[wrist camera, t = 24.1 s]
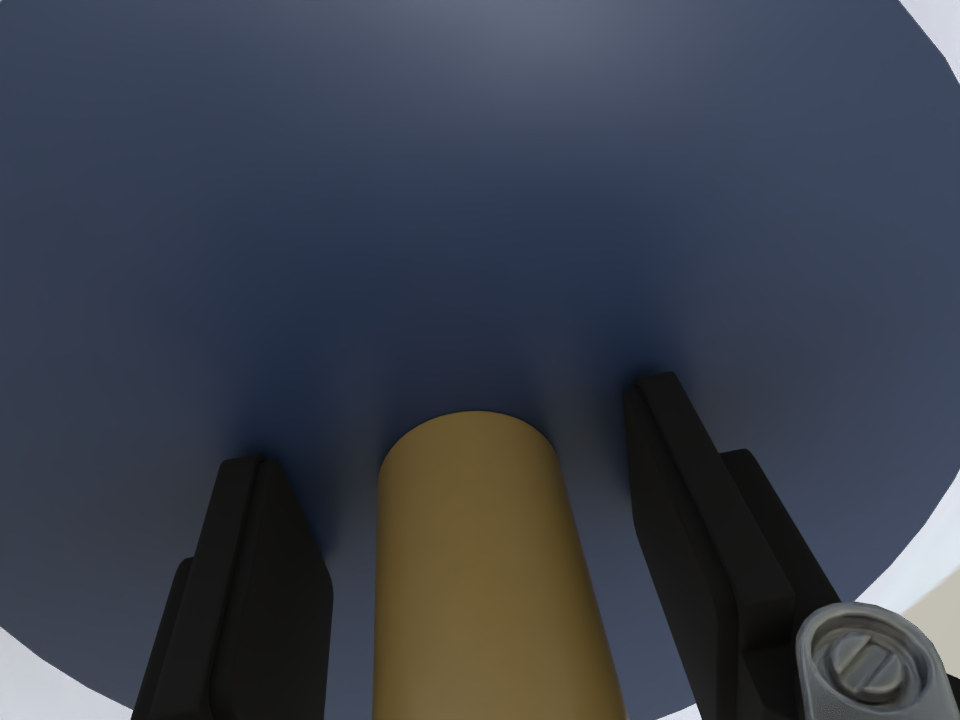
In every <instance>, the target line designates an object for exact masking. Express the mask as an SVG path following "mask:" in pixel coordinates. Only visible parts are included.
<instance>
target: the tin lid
mask: <svg viewBox="0 0 960 720" xmlns="http://www.w3.org/2000/svg"><path fill="white" fill-rule="evenodd" d="M669 371H673V372H674V373H675V374H676V376H677V377H678V379H679V381H680V383H681V385H682V387H683V388H684V390H685V392H686V394H687V396H688V398H689V399H690V401H691V403H692V405H693V407H694V409H695V410H696V412H697V414H698V416H699V418H700V420H701V421H702V423H703V425H704V427H705V429H706V431H707V432H708V434H709V436H710V438H711V440H712V442H713V443H714V445H715V447H716V449H717V451H718V453H723V452H728V451H733V450H738V449H743V448H746V449H747V450H749V451H750V452H751V453H752V455H753V456H754V457H755V459H756V460H757V462H758V463H759V465H760V467H761V468H762V470H763V472H764V473H765V475H766V477H767V478H768V480H769V482H770V483H771V485H772V487H773V488H774V490H775V492H776V493H777V495H778V497H779V498H780V500H781V502H782V503H783V505H784V507H785V508H786V510H787V512H788V513H789V515H790V517H791V518H792V520H793V522H794V523H795V525H796V527H797V528H798V530H799V532H800V533H801V535H802V537H803V538H804V540H805V542H806V543H807V545H808V547H809V548H810V550H811V552H812V553H813V555H814V557H815V558H816V560H817V562H818V563H819V565H820V567H821V568H822V570H823V571H824V573H825V575H826V576H827V578H828V580H829V581H830V583H831V585H832V586H833V588H834V590H835V591H836V593H837V595H838V596H839V598H840V600H841V601H842V602H854V601H855V600H856V599H857V598H858V597H859V596H860V595H861V594H862V593H863V592H864V591H865V590H866V589H867V588H868V587H869V586H870V585H871V584H872V583H873V582H874V581H875V580H876V579H877V578H878V577H879V576H880V575H881V574H882V573H883V572H884V571H885V570H886V569H887V568H889V567H890V565H891V564H892V563H893V562H894V561H895V559H896V558H897V557H898V556H899V555H900V553H901V552H902V551H903V550H904V549H905V547H906V546H907V545H908V544H909V543H910V541H911V540H912V539H913V538H914V537H915V535H916V534H917V533H918V532H919V531H920V529H921V528H922V527H923V526H924V525H925V523H926V522H927V520H928V519H929V517H930V516H931V514H932V513H933V511H934V510H935V508H936V507H937V505H938V503H939V502H940V500H941V499H942V497H943V496H944V494H945V493H946V491H947V490H948V488H949V487H950V485H951V484H952V482H953V481H954V479H955V477H956V475H957V473H958V471H959V469H960V84H959V82H958V81H957V79H956V77H955V75H954V73H953V71H952V70H951V68H950V66H949V64H948V62H947V60H946V58H945V57H944V56H943V54H942V53H941V52H940V51H939V49H938V48H937V47H936V46H935V44H934V43H933V42H932V41H931V40H930V38H929V37H928V36H927V35H926V33H925V32H924V31H923V30H922V28H921V27H920V26H919V25H918V23H917V22H916V21H915V20H914V19H913V17H912V16H911V15H910V14H909V12H908V11H907V10H906V9H905V7H904V6H903V5H902V4H901V2H900V1H899V0H1V1H0V627H2V628H3V629H4V630H5V631H7V632H8V633H9V634H11V635H12V636H13V637H14V638H16V639H17V640H18V641H19V642H21V643H22V644H23V645H25V646H26V647H27V648H28V649H30V650H31V651H32V652H33V653H35V654H36V655H37V656H39V657H40V658H41V659H43V660H44V661H46V662H48V663H49V664H51V665H52V666H54V667H56V668H57V669H59V670H60V671H62V672H64V673H65V674H67V675H68V676H70V677H72V678H73V679H75V680H76V681H78V682H80V683H81V684H83V685H84V686H86V687H88V688H90V689H92V690H94V691H96V692H98V693H100V694H102V695H104V696H106V697H108V698H110V699H112V700H114V701H116V702H118V703H120V704H122V705H124V706H126V707H128V708H130V709H132V710H134V707H135V704H136V700H137V697H138V694H139V691H140V687H141V684H142V681H143V677H144V674H145V671H146V668H147V664H148V661H149V658H150V654H151V651H152V648H153V645H154V641H155V638H156V635H157V632H158V628H159V625H160V622H161V618H162V615H163V612H164V609H165V605H166V602H167V599H168V595H169V592H170V589H171V586H172V582H173V579H174V576H175V573H176V571H177V568H178V566H179V564H180V563H181V562H182V561H183V560H184V559H185V558H190V557H194V554H195V551H196V547H197V544H198V540H199V537H200V533H201V530H202V526H203V523H204V519H205V516H206V512H207V509H208V505H209V502H210V498H211V495H212V491H213V488H214V484H215V481H216V477H217V474H218V470H219V467H220V465H221V463H222V462H223V461H224V460H227V459H232V458H237V457H242V456H247V455H252V454H257V453H262V454H264V455H265V456H266V458H267V460H268V461H272V460H278V461H279V462H280V464H281V466H282V468H283V470H284V472H285V474H286V477H287V479H288V481H289V483H290V486H291V488H292V490H293V492H294V495H295V497H296V499H297V501H298V504H299V506H300V508H301V511H302V513H303V515H304V517H305V520H306V522H307V524H308V526H309V529H310V531H311V533H312V535H313V538H314V540H315V542H316V544H317V547H318V549H319V551H320V554H321V556H322V558H323V560H324V563H325V565H326V567H327V569H328V572H329V574H330V577H331V580H332V585H333V593H334V601H333V614H332V626H331V638H330V651H329V663H328V675H327V688H326V700H325V712H324V720H656V719H659V718H662V717H664V716H667V715H670V714H672V713H675V712H677V711H680V710H682V709H684V708H687V707H689V706H691V705H693V704H695V703H696V701H695V698H694V695H693V693H692V690H691V687H690V684H689V681H688V679H687V676H686V673H685V670H684V667H683V665H682V662H681V659H680V656H679V653H678V651H677V648H676V645H675V642H674V639H673V637H672V634H671V631H670V628H669V625H668V623H667V620H666V617H665V614H664V611H663V609H662V606H661V603H660V600H659V597H658V595H657V592H656V589H655V586H654V583H653V581H652V578H651V575H650V572H649V569H648V567H647V564H646V561H645V558H644V555H643V553H642V550H641V547H640V544H639V541H638V538H637V535H636V531H635V527H634V522H633V515H632V504H631V492H630V481H629V469H628V457H627V445H626V433H625V422H624V410H623V397H622V394H623V391H624V390H629V389H634V380H635V379H636V378H639V377H644V376H649V375H654V374H659V373H664V372H669Z"/></svg>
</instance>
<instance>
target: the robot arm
mask: <svg viewBox="0 0 960 720" xmlns="http://www.w3.org/2000/svg"><path fill="white" fill-rule="evenodd" d="M622 397H623V410H624V422H625V433H626V445H627V457H628V469H629V481H630V492H631V504H632V515H633V522H634V527H635V531H636V535H637V538H638V541H639V544H640V547H641V550H642V553H643V555H644V558H645V561H646V564H647V567H648V569H649V572H650V575H651V578H652V581H653V583H654V586H655V589H656V592H657V595H658V597H659V600H660V603H661V606H662V609H663V611H664V614H665V617H666V620H667V623H668V625H669V628H670V631H671V634H672V637H673V639H674V642H675V645H676V648H677V651H678V653H679V656H680V659H681V662H682V665H683V667H684V670H685V673H686V676H687V679H688V681H689V684H690V687H691V690H692V693H693V695H694V698H695V701H696V704H697V707H698V709H699V712H700V715H701V718H702V720H960V679H958V678H956V677H954V676H951V675H949V674H947V673H946V671H945V668H944V665H943V662H942V660H941V658H940V656H939V654H938V653H937V651H936V649H935V647H934V645H933V643H932V642H931V641H930V640H929V639H928V638H927V637H926V636H925V635H924V634H923V633H922V631H921V630H920V629H919V628H918V627H917V626H915V625H913V624H912V623H911V622H909V621H908V620H906V619H905V618H903V617H902V616H900V615H899V614H897V613H895V612H892V611H889V610H887V609H884V608H882V607H879V606H877V605H872V604H866V603H860V602H842V601H841V600H840V598H839V596H838V595H837V593H836V591H835V590H834V588H833V586H832V585H831V583H830V581H829V580H828V578H827V576H826V575H825V573H824V571H823V570H822V568H821V567H820V565H819V563H818V562H817V560H816V558H815V557H814V555H813V553H812V552H811V550H810V548H809V547H808V545H807V543H806V542H805V540H804V538H803V537H802V535H801V533H800V532H799V530H798V528H797V527H796V525H795V523H794V522H793V520H792V518H791V517H790V515H789V513H788V512H787V510H786V508H785V507H784V505H783V503H782V502H781V500H780V498H779V497H778V495H777V493H776V492H775V490H774V488H773V487H772V485H771V483H770V482H769V480H768V478H767V477H766V475H765V473H764V472H763V470H762V468H761V467H760V465H759V463H758V462H757V460H756V459H755V457H754V456H753V455H752V453H751V452H750V451H749V450H747V449H746V448H743V449H738V450H733V451H728V452H723V453H718V451H717V449H716V447H715V445H714V443H713V442H712V440H711V438H710V436H709V434H708V432H707V431H706V429H705V427H704V425H703V423H702V421H701V420H700V418H699V416H698V414H697V412H696V410H695V409H694V407H693V405H692V403H691V401H690V399H689V398H688V396H687V394H686V392H685V390H684V388H683V387H682V385H681V383H680V381H679V379H678V377H677V376H676V374H675V373H674V372H673V371H669V372H664V373H659V374H654V375H649V376H644V377H639V378H636V379H635V380H634V389H629V390H624V391H623V394H622ZM333 601H334V593H333V585H332V580H331V577H330V574H329V572H328V569H327V567H326V565H325V563H324V560H323V558H322V556H321V554H320V551H319V549H318V547H317V544H316V542H315V540H314V538H313V535H312V533H311V531H310V529H309V526H308V524H307V522H306V520H305V517H304V515H303V513H302V511H301V508H300V506H299V504H298V501H297V499H296V497H295V495H294V492H293V490H292V488H291V486H290V483H289V481H288V479H287V477H286V474H285V472H284V470H283V468H282V466H281V464H280V462H279V461H278V460H272V461H268V460H267V458H266V456H265V455H264V454H262V453H257V454H252V455H247V456H242V457H237V458H232V459H227V460H224V461H223V462H222V463H221V465H220V467H219V470H218V474H217V477H216V481H215V484H214V488H213V491H212V495H211V498H210V502H209V505H208V509H207V512H206V516H205V519H204V523H203V526H202V530H201V533H200V537H199V540H198V544H197V547H196V551H195V554H194V557H190V558H185V559H184V560H183V561H182V562H181V563H180V564H179V566H178V568H177V571H176V573H175V576H174V579H173V582H172V586H171V589H170V592H169V595H168V599H167V602H166V605H165V609H164V612H163V615H162V618H161V622H160V625H159V628H158V632H157V635H156V638H155V641H154V645H153V648H152V651H151V654H150V658H149V661H148V664H147V668H146V671H145V674H144V677H143V681H142V684H141V687H140V691H139V694H138V697H137V700H136V704H135V707H134V710H133V714H132V717H131V720H324V712H325V700H326V688H327V675H328V663H329V651H330V638H331V626H332V614H333Z"/></svg>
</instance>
